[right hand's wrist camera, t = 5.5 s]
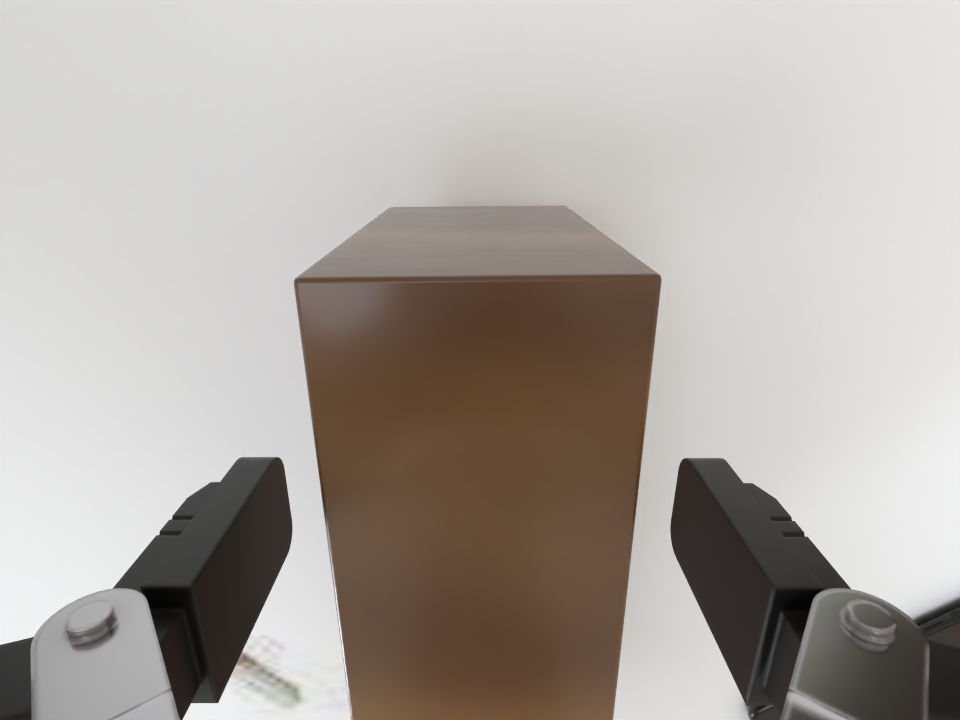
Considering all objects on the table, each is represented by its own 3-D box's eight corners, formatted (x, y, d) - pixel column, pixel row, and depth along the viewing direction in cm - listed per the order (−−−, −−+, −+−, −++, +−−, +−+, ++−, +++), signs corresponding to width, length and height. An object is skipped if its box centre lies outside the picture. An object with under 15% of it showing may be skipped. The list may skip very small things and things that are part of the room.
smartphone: (792, 768, 38) (1034, 666, 34) (799, 783, 37) (1048, 679, 34) (738, 702, 36) (992, 585, 32) (744, 716, 35) (1005, 597, 31)
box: (388, 206, 19) (291, 278, 9) (566, 205, 19) (663, 275, 9) (423, 744, 29) (395, 1063, 19) (542, 743, 29) (576, 1061, 19)
